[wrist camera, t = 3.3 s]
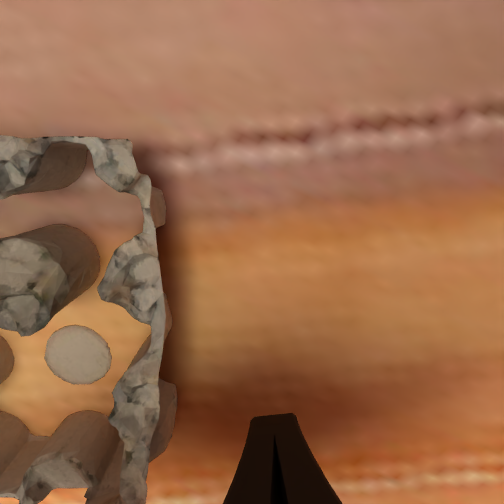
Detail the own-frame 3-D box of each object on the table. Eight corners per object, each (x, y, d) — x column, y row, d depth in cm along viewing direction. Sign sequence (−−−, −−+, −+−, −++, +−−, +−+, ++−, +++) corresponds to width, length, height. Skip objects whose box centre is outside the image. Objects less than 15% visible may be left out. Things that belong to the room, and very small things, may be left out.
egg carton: (184, 439, 13) (153, 567, 9) (-16, 430, 12) (-140, 555, 8) (186, 146, 10) (141, 135, 6) (-72, 130, 10) (-297, 107, 6)
